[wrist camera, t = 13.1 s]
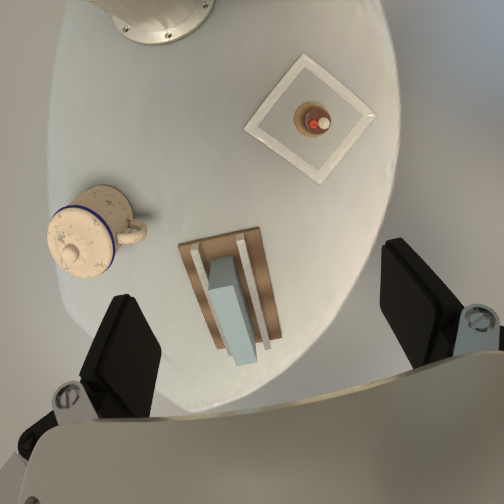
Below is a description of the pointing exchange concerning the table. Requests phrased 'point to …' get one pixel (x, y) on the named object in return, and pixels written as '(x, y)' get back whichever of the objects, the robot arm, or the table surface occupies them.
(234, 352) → the door panel
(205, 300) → the bottom track
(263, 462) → the robot arm
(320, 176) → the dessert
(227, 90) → the table surface
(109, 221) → the teacup with lid
